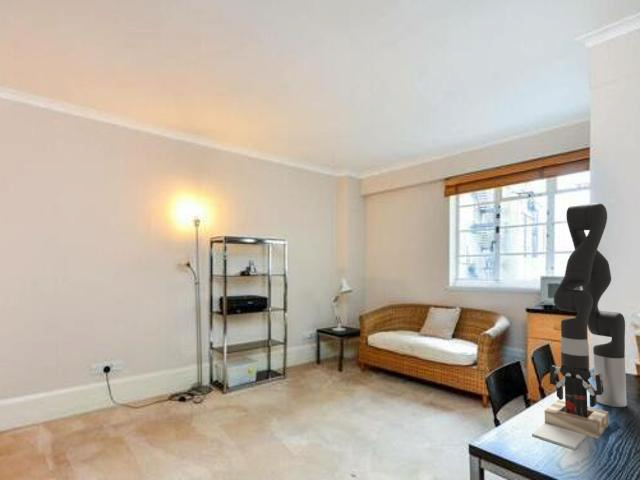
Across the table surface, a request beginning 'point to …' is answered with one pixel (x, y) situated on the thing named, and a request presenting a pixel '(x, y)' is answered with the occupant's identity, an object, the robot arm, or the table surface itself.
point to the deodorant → (575, 397)
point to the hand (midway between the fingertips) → (576, 402)
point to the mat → (559, 436)
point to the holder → (577, 420)
